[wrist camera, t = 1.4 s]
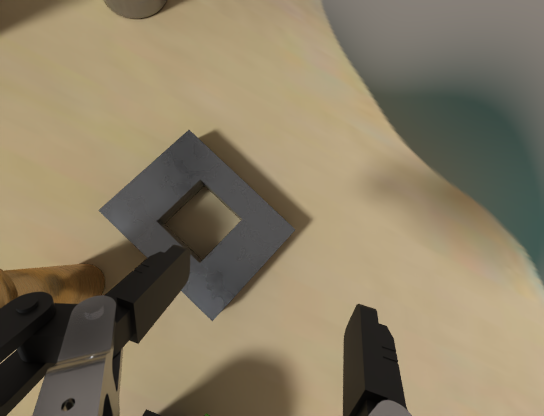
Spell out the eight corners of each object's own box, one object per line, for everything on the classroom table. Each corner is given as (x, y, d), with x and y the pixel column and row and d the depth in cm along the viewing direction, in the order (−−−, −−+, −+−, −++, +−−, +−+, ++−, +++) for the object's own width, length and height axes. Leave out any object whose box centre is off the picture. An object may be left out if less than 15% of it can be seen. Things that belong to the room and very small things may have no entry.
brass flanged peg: (39, 287, 30) (-137, 319, 16) (85, 245, 31) (-43, 242, 18) (79, 326, 30) (-66, 393, 16) (123, 283, 31) (25, 310, 17)
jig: (111, 213, 32) (98, 210, 29) (193, 139, 35) (189, 129, 32) (215, 314, 32) (212, 321, 29) (291, 231, 34) (295, 229, 31)
